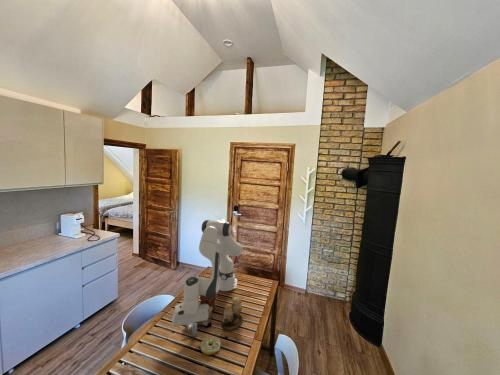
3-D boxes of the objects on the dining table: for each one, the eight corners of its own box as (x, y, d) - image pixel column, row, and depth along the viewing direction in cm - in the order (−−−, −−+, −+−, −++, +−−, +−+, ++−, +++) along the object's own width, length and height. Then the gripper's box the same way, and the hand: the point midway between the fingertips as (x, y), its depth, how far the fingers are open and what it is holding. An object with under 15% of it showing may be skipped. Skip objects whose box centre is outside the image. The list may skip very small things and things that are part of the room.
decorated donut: (222, 353, 119) (222, 347, 119) (202, 359, 115) (202, 352, 115) (217, 339, 129) (217, 333, 129) (198, 344, 125) (199, 338, 124)
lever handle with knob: (185, 325, 138) (185, 314, 138) (189, 323, 140) (189, 313, 139) (193, 338, 128) (193, 326, 128) (197, 336, 130) (198, 325, 129)
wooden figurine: (205, 316, 147) (206, 291, 146) (198, 313, 151) (199, 287, 149) (217, 308, 157) (218, 283, 156) (210, 304, 161) (211, 280, 159)
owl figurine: (232, 311, 154) (234, 288, 153) (247, 318, 148) (248, 294, 147) (216, 327, 139) (217, 301, 137) (232, 335, 133) (233, 308, 131)
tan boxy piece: (194, 313, 150) (194, 303, 150) (212, 317, 148) (213, 307, 147) (184, 327, 137) (185, 316, 136) (204, 331, 134) (204, 320, 134)
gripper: (207, 300, 134) (206, 321, 136) (172, 306, 126) (171, 329, 127) (210, 306, 129) (209, 328, 130) (173, 313, 121) (172, 337, 122)
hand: (190, 329), depth 129 cm, fingers closed
